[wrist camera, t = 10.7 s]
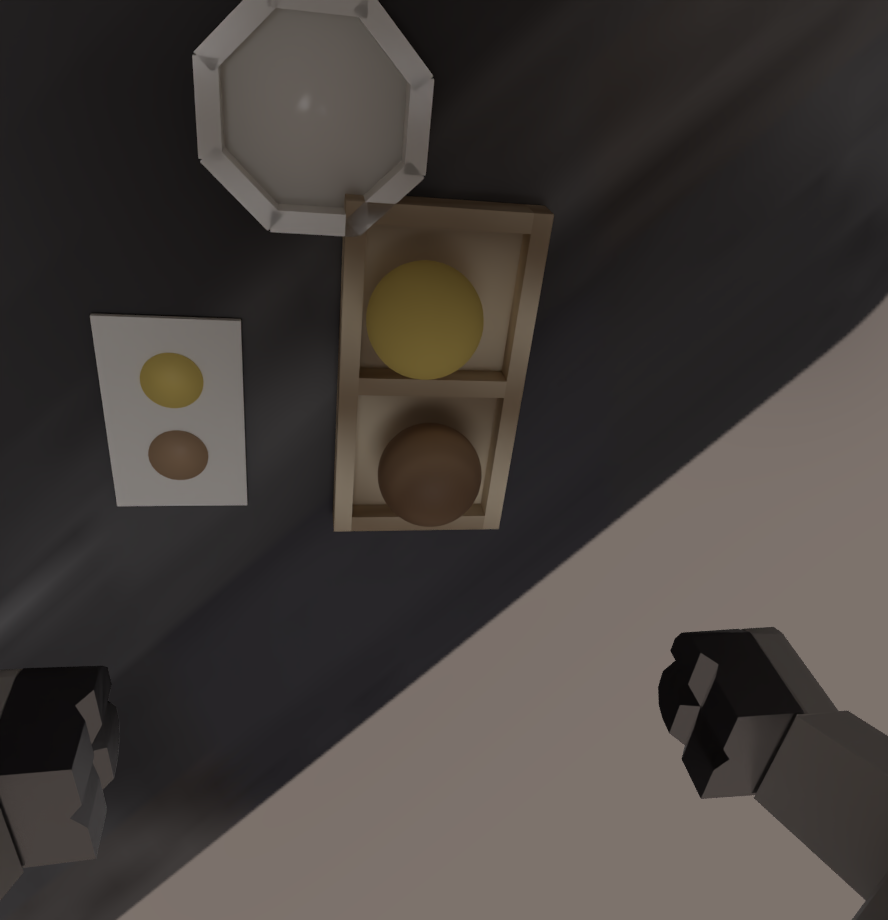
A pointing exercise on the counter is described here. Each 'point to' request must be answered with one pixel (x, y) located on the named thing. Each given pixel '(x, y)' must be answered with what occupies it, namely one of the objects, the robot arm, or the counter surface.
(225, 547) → the counter surface
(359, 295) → the twin rack
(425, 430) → the walnut ball
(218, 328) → the card
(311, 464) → the counter surface
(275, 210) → the white bowl
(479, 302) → the mustard ball
